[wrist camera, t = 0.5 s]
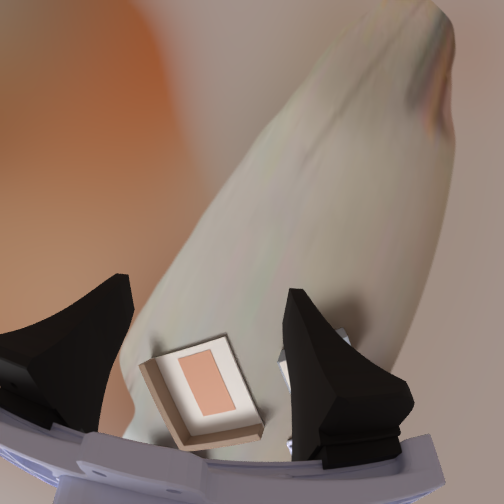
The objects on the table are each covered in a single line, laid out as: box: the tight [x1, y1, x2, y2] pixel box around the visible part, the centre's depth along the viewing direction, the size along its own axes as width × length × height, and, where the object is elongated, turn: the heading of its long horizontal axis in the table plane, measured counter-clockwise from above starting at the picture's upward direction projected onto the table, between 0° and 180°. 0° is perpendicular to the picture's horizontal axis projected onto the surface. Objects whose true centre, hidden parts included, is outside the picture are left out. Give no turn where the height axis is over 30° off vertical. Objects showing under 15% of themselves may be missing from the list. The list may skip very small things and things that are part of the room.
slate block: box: [277, 327, 351, 393], centre depth 32 cm, size 4×8×5 cm, turn 111°
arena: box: [138, 336, 265, 451], centre depth 35 cm, size 14×12×4 cm
